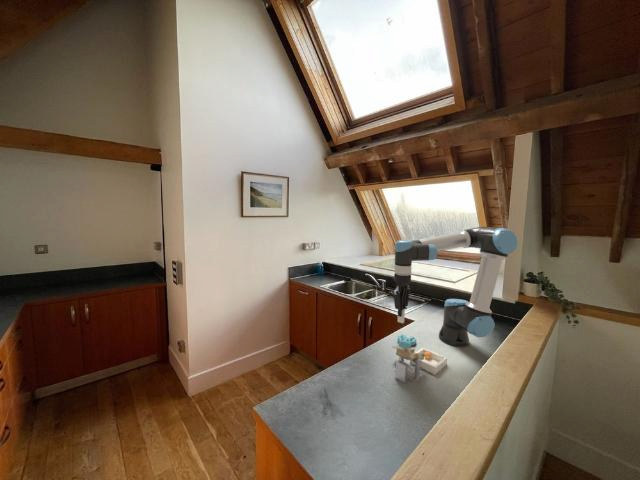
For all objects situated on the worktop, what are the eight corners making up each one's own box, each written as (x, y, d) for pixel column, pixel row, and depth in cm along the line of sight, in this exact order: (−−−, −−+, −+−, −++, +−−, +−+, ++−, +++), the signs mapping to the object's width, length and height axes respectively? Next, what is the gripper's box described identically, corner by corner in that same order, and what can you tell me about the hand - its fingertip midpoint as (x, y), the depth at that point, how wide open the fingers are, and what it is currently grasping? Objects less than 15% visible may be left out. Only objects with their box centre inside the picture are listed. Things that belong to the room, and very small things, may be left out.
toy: (417, 334, 146) (414, 343, 132) (416, 343, 146) (413, 352, 132) (399, 330, 150) (394, 338, 136) (398, 339, 150) (394, 348, 136)
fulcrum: (403, 365, 121) (404, 348, 120) (423, 375, 114) (424, 357, 113) (389, 375, 114) (390, 356, 113) (410, 386, 107) (411, 366, 106)
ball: (422, 354, 126) (423, 358, 128) (428, 357, 124) (430, 361, 125) (425, 349, 128) (426, 353, 129) (431, 351, 125) (433, 356, 127)
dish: (422, 354, 131) (422, 347, 131) (446, 365, 123) (447, 357, 122) (409, 363, 124) (410, 355, 123) (435, 375, 115) (435, 367, 114)
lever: (396, 347, 127) (398, 342, 128) (423, 359, 117) (424, 353, 118) (380, 346, 118) (381, 341, 118) (407, 360, 108) (409, 353, 108)
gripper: (402, 270, 129) (400, 316, 132) (387, 274, 121) (386, 323, 123) (417, 272, 124) (414, 320, 127) (402, 277, 115) (400, 328, 118)
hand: (400, 322), depth 125 cm, fingers closed
